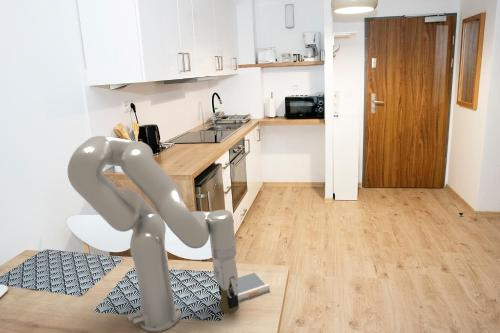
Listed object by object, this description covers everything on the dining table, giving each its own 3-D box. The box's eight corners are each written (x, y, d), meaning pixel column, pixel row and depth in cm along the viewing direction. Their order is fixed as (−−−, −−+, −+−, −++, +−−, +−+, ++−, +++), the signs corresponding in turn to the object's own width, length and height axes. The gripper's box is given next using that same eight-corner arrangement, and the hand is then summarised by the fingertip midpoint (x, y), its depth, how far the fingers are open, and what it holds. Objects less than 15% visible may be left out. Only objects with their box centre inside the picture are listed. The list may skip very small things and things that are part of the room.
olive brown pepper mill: (240, 301, 129) (237, 271, 126) (237, 313, 123) (234, 282, 120) (221, 301, 130) (218, 272, 127) (218, 313, 124) (215, 282, 121)
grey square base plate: (237, 303, 128) (236, 296, 128) (223, 284, 139) (223, 278, 138) (270, 292, 133) (269, 285, 132) (254, 275, 144) (254, 269, 143)
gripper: (203, 242, 127) (208, 290, 132) (222, 266, 112) (228, 319, 117) (224, 236, 130) (229, 283, 135) (246, 258, 115) (251, 311, 119)
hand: (228, 300), depth 126 cm, fingers open, 6 cm apart
